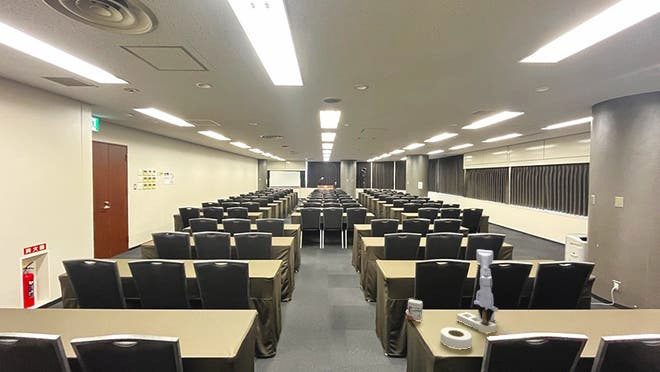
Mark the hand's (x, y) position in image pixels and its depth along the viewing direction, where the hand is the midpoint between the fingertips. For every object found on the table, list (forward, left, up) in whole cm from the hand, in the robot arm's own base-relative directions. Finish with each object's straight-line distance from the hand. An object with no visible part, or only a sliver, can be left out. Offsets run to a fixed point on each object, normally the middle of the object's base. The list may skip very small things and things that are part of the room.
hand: (485, 319), depth 192 cm
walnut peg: (0, 0, -3) cm, 3 cm away
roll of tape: (+28, +3, -7) cm, 29 cm away
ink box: (+27, -31, -6) cm, 41 cm away
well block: (0, -7, -6) cm, 9 cm away
